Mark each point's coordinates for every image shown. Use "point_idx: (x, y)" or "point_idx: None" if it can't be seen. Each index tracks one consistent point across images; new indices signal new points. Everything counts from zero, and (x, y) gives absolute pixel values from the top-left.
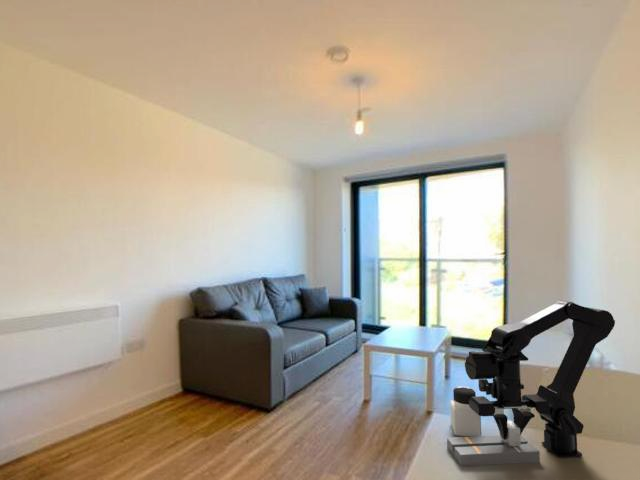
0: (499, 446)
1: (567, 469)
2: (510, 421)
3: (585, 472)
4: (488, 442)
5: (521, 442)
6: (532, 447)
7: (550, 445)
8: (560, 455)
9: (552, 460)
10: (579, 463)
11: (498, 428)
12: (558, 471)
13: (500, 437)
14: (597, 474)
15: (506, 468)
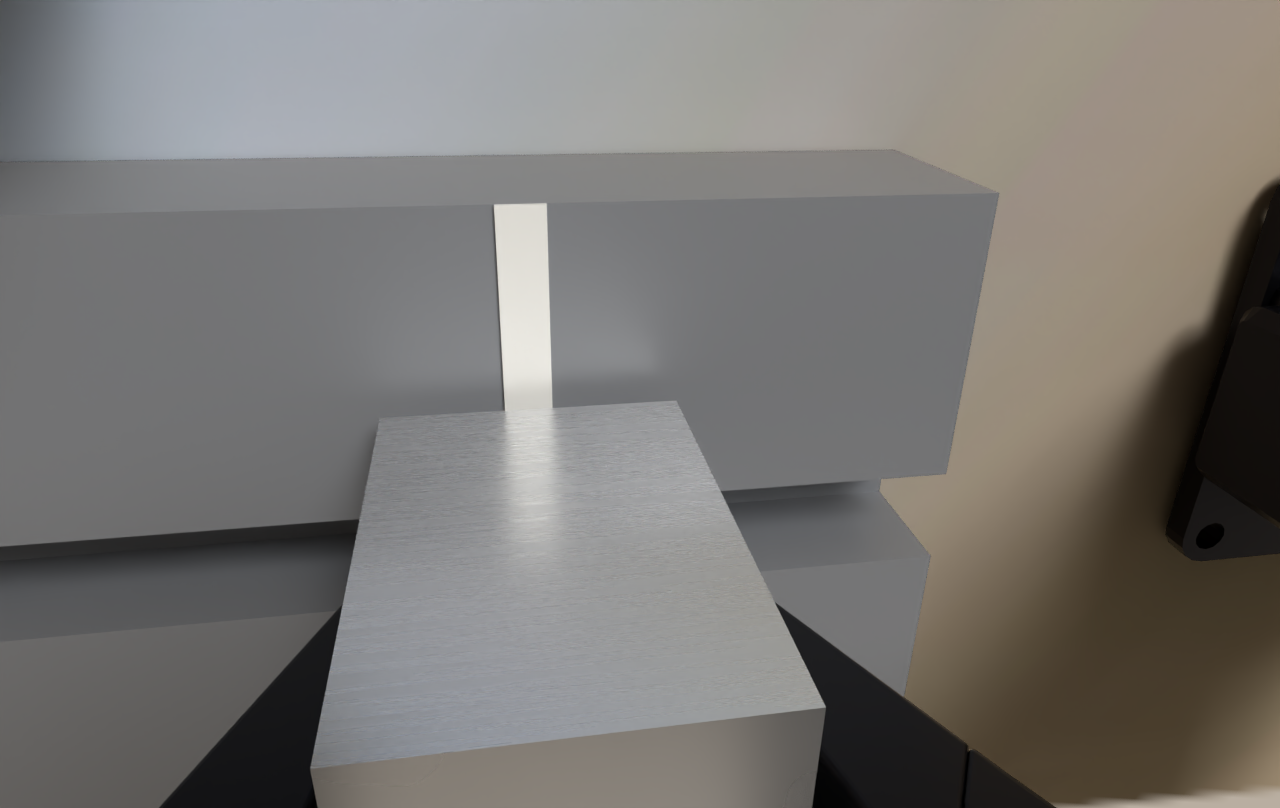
0: (225, 665)
1: (1030, 743)
2: (765, 764)
3: (1162, 774)
4: (7, 522)
5: (812, 470)
6: (870, 659)
7: (1254, 498)
8: (1203, 557)
9: (1024, 591)
10: (1273, 636)
11: (215, 747)
12: None
13: (377, 440)
14: (1239, 793)
15: None
